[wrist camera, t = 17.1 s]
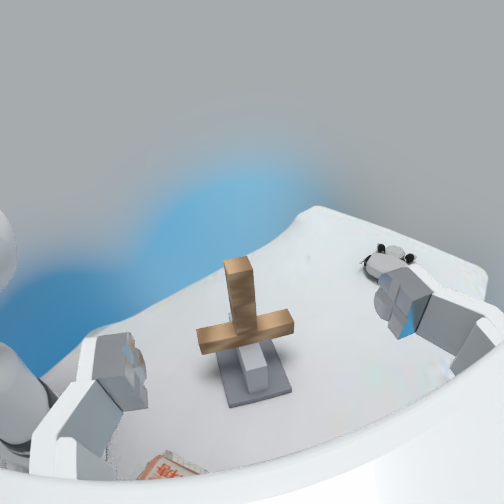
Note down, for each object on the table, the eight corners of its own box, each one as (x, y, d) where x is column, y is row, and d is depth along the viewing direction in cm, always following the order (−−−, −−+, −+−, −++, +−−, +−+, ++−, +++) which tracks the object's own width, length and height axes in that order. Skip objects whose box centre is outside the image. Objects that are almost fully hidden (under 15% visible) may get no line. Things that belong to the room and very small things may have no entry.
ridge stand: (229, 407, 41) (222, 382, 37) (213, 343, 53) (206, 313, 48) (291, 392, 43) (293, 364, 39) (266, 331, 55) (264, 300, 50)
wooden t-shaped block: (202, 354, 41) (181, 283, 34) (199, 340, 44) (180, 269, 36) (293, 333, 44) (296, 260, 36) (286, 319, 46) (287, 247, 39)
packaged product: (120, 492, 25) (158, 440, 33) (134, 499, 28) (168, 451, 35) (248, 559, 18) (283, 495, 26) (251, 557, 21) (282, 500, 28)
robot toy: (374, 251, 76) (355, 277, 66) (377, 236, 74) (359, 261, 63) (416, 265, 69) (404, 295, 59) (420, 250, 67) (409, 278, 57)
